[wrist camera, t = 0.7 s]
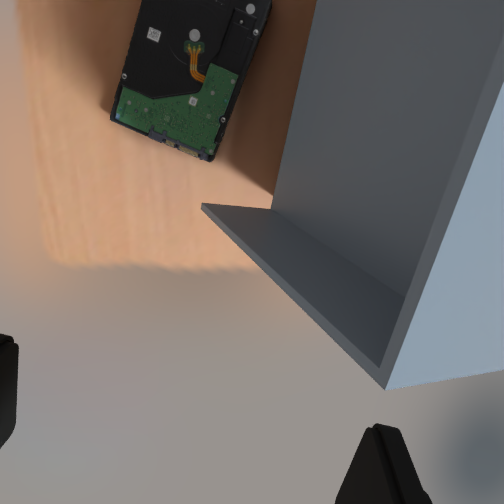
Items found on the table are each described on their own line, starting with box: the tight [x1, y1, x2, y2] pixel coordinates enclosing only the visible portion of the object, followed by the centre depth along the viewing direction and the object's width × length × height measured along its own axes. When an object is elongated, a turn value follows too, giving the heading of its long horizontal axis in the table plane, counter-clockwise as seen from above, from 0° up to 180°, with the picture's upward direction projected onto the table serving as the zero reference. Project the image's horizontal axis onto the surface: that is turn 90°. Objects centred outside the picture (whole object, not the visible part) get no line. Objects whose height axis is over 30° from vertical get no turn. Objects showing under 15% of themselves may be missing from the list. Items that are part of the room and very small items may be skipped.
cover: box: [201, 0, 504, 390], centre depth 20 cm, size 21×20×7 cm
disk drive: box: [110, 0, 272, 162], centre depth 35 cm, size 10×3×15 cm
